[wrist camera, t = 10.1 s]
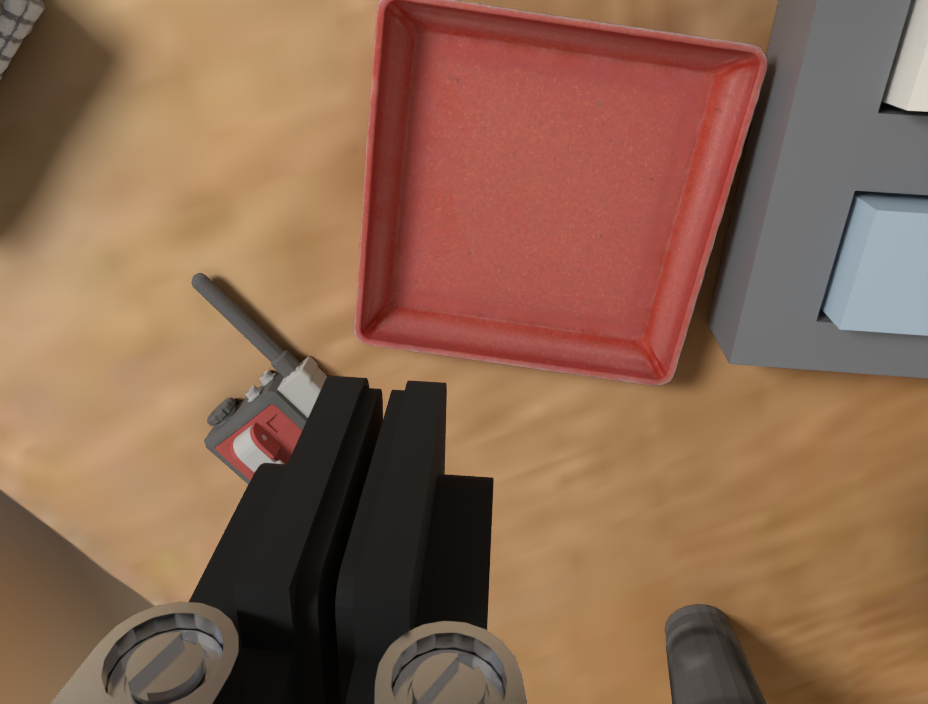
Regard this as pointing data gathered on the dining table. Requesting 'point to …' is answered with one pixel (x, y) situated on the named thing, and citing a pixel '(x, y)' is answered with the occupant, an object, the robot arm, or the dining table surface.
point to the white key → (910, 62)
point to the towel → (16, 26)
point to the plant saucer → (544, 185)
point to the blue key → (881, 266)
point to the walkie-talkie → (260, 398)
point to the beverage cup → (707, 660)
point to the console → (816, 189)
